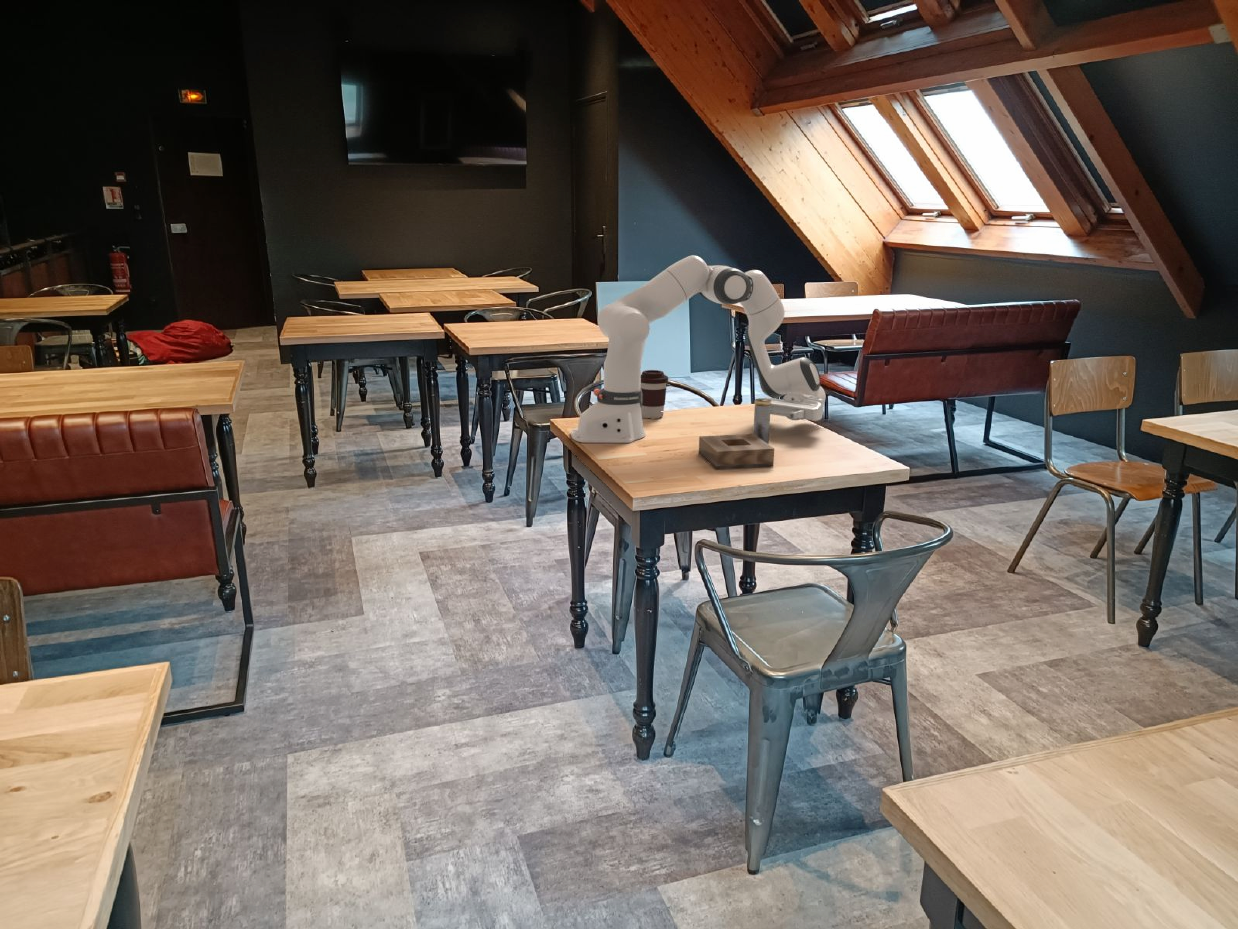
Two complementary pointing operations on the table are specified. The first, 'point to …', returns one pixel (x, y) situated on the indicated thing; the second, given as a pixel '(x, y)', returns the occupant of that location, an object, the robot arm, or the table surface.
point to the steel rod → (762, 419)
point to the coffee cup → (653, 393)
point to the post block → (736, 451)
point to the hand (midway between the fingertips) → (777, 413)
